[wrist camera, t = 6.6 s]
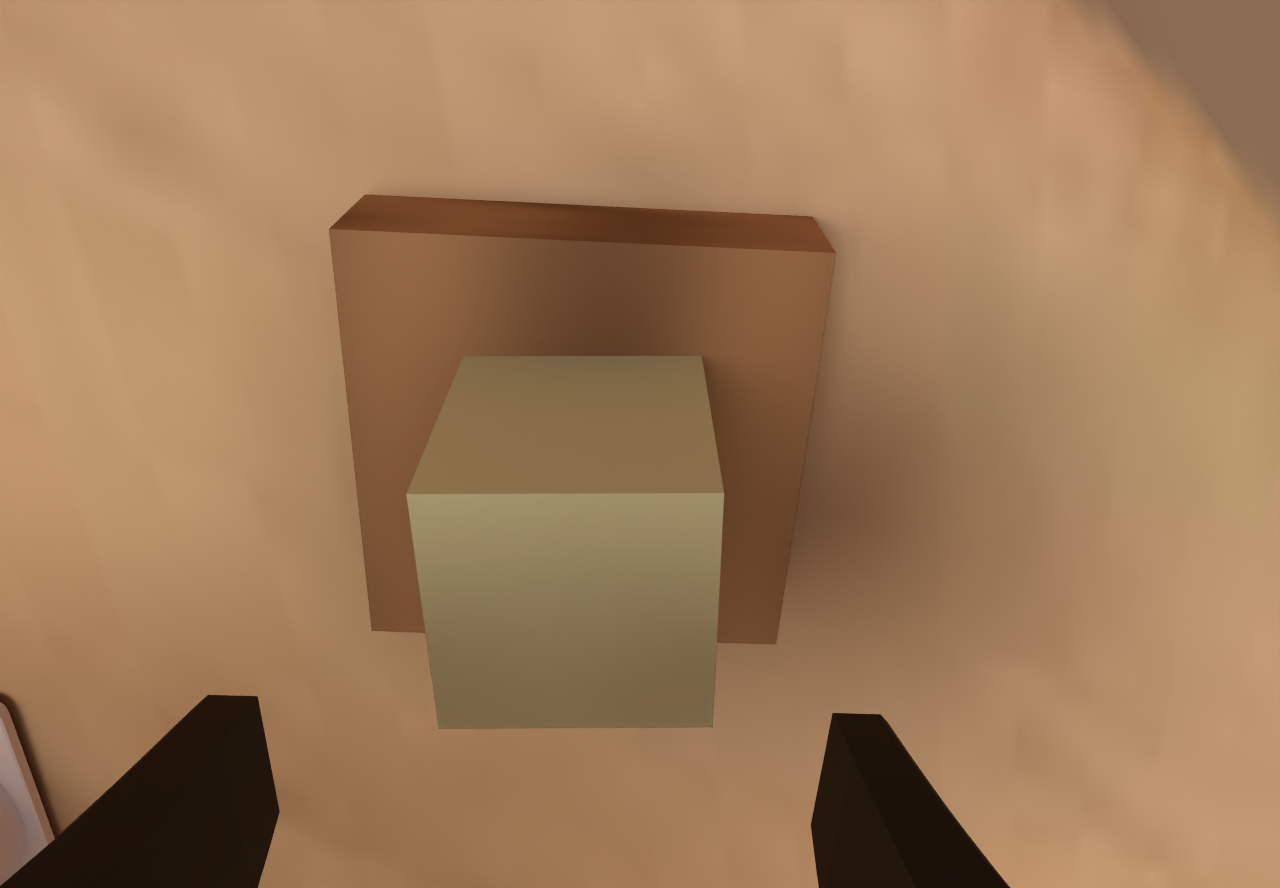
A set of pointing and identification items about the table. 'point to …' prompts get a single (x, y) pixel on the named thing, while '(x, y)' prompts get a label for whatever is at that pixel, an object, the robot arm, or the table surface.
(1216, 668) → the table surface
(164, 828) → the robot arm
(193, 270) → the table surface
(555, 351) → the walnut box
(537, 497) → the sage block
